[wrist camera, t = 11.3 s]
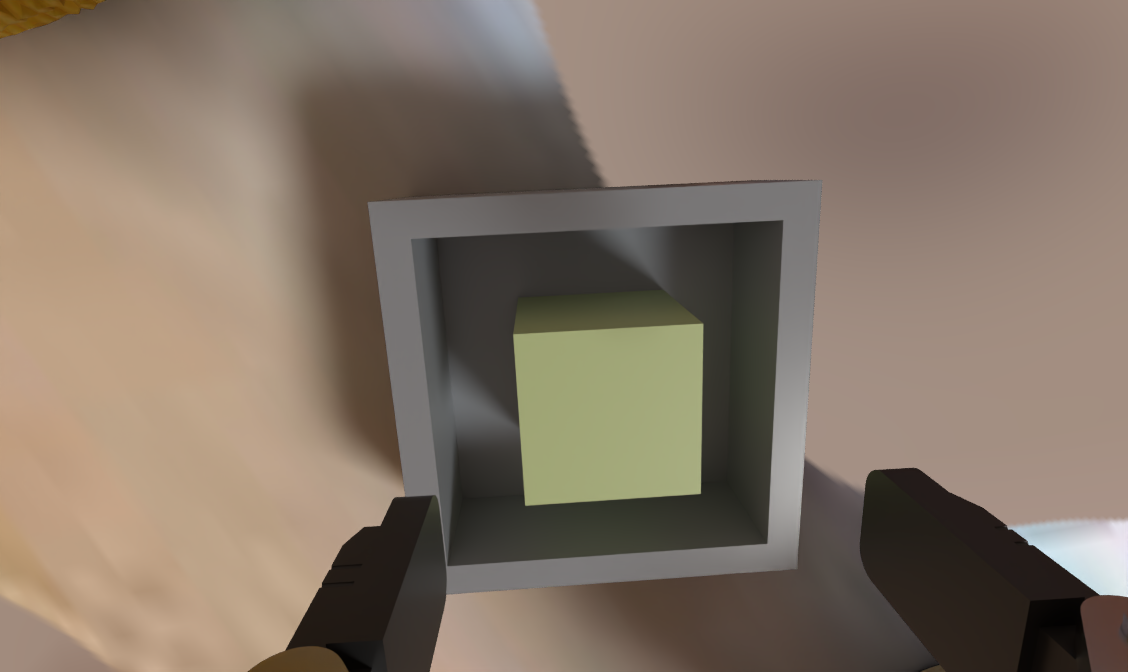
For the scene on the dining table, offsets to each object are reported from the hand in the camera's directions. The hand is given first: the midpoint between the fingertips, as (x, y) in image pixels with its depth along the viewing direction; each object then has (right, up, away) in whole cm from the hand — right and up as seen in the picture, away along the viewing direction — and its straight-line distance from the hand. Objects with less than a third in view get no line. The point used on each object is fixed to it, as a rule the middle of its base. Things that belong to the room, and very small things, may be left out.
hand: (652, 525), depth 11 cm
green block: (-1, +3, +10) cm, 10 cm away
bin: (-1, +3, +11) cm, 11 cm away
